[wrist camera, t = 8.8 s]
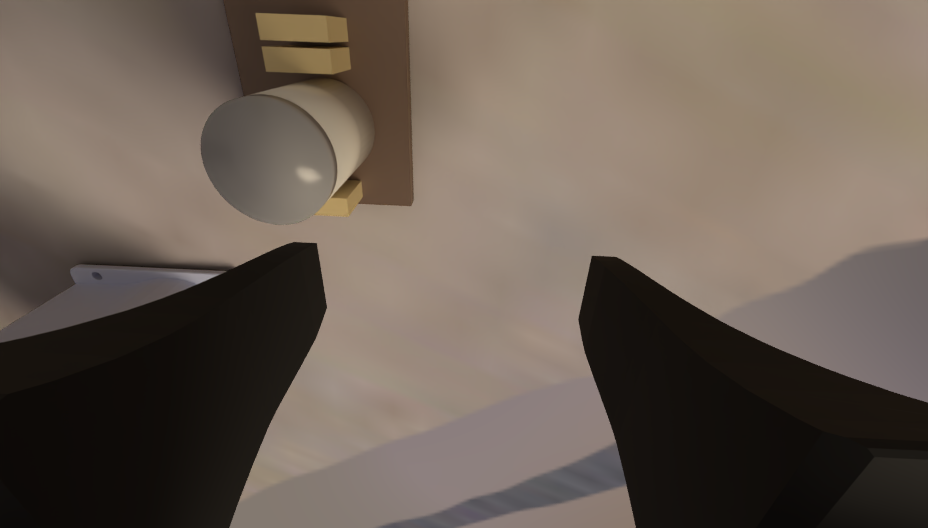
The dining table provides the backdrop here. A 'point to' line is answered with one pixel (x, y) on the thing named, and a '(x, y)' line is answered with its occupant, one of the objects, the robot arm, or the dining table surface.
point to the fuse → (287, 148)
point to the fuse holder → (338, 76)
